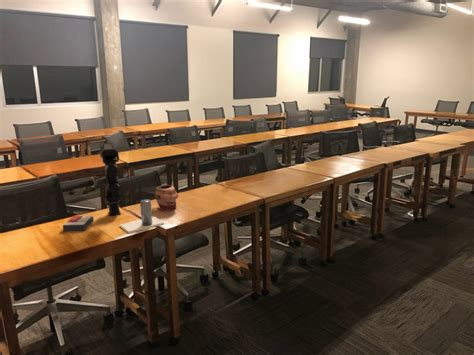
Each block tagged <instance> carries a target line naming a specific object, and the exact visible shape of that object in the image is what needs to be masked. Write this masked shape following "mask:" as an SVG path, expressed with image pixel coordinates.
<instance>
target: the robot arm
mask: <svg viewBox="0 0 474 355" xmlns="http://www.w3.org/2000/svg"><path fill="white" fill-rule="evenodd" d="M99 155H100V158H101V162H102V164H104V168H105V169H104V170H105V174H104V175H105V176H102V177H100V178H97V179H96V180H95V184H96V185H97V188H101V187H102V186H104V185H107V186H106V191H105V195H104V196H105V200H104V201H105V206H108V216H109V217H111V216H117V215H118V216H119V215H122V214H121V210H120V205H121V204H122V203H123V197H122V195H121V193H120V191H121V187H120V184H119V179H118V173H119V169H118V166H117V163H119V160H120V156H119V151H118V150H117V149H116V148H115V147H114V145H113V143H112V142H104V143H102V145H101V147H100V148H99Z"/></svg>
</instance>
